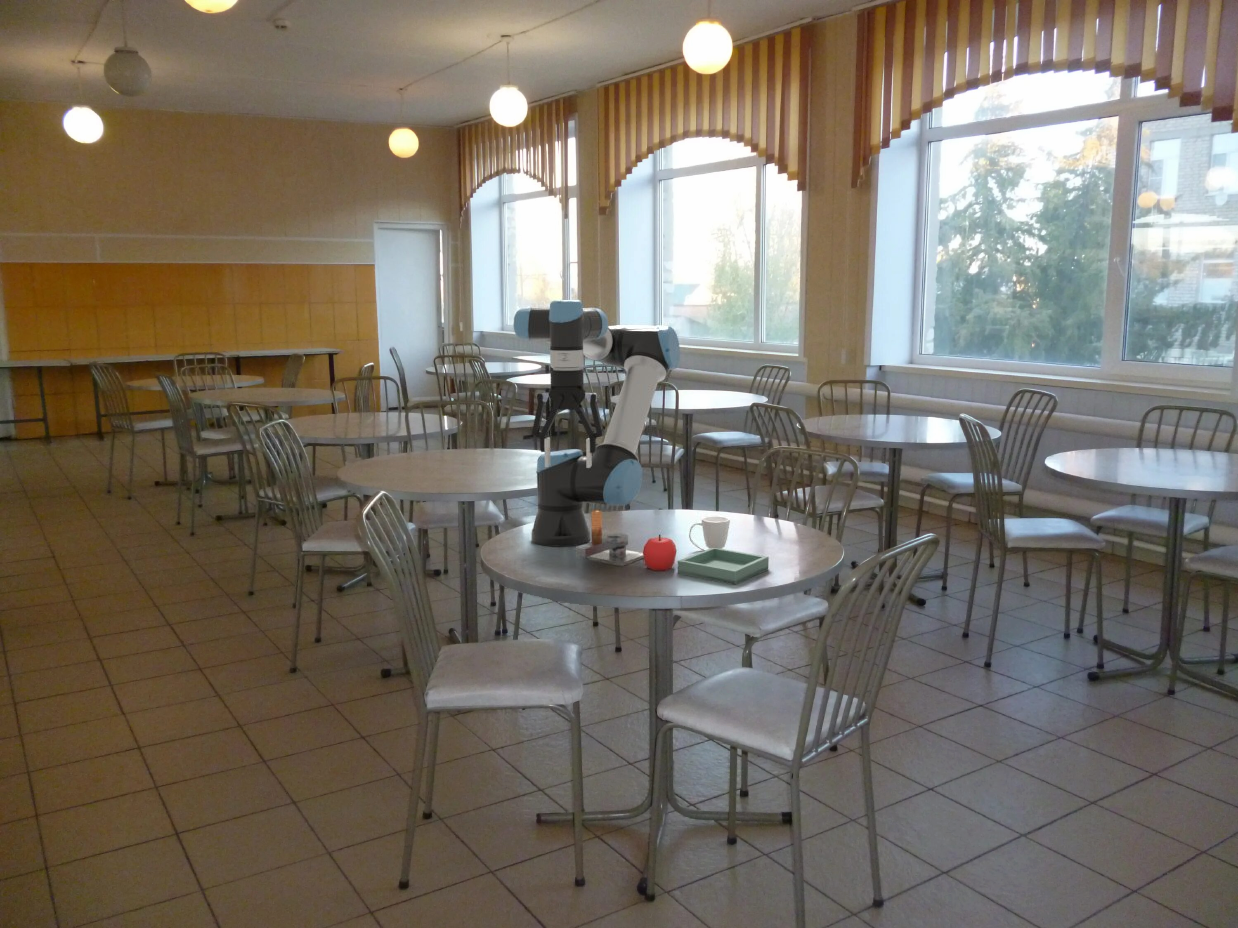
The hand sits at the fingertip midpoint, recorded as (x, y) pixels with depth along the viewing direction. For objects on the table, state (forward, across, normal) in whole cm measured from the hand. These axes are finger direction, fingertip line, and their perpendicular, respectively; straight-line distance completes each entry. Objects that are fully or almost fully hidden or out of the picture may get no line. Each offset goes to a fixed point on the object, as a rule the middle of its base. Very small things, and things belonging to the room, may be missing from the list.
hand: (568, 466), depth 231 cm
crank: (+20, +8, +2) cm, 21 cm away
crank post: (+23, +10, +7) cm, 27 cm away
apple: (+24, +21, 0) cm, 32 cm away
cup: (+24, +32, +17) cm, 43 cm away
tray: (+23, +36, -2) cm, 43 cm away
